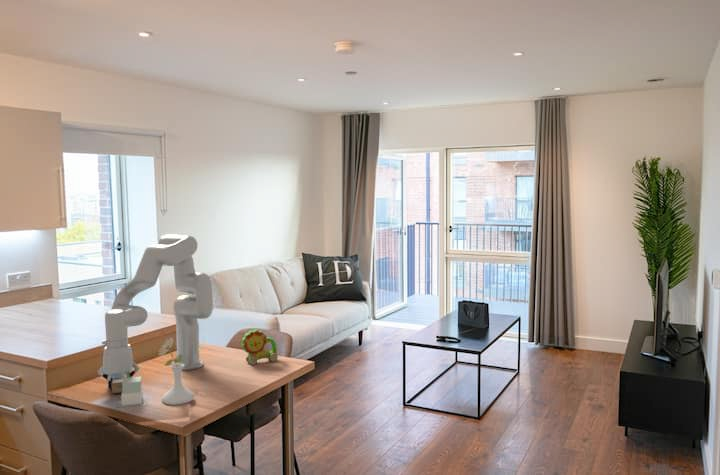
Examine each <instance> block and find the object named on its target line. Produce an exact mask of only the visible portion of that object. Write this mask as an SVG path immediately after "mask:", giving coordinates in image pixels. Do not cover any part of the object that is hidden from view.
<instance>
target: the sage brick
mask: <svg viewBox="0 0 720 475" xmlns="http://www.w3.org/2000/svg"><path fill="white" fill-rule="evenodd" d="M141 387H143V386H142V376H132V377H129V378H124V379H123V383H122V390H123V394H129V393H139V392H141Z"/></svg>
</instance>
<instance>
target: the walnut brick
mask: <svg viewBox="0 0 720 475" xmlns="http://www.w3.org/2000/svg"><path fill="white" fill-rule="evenodd" d="M124 378H127V376H125V377H123V378H113V381H112V383H111V385H112V391H111V394H119V393H122V392H123V390H122V383H123V379H124Z"/></svg>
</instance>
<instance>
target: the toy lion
mask: <svg viewBox="0 0 720 475" xmlns="http://www.w3.org/2000/svg"><path fill="white" fill-rule="evenodd" d="M267 343H270V344H271V350H270V351H269V350H267V349H265V346H266V344H267ZM241 348H242V349H243V351H244V352H245V353H247V355H246V357H245V361H246V362H247V363H249V364H250V365H251V366H254V365H256V364H257V363H258V361H260V360H262V359H268V360H269V361H271V362H276V361H277V360H278V354H277V344H276V342H275V340H274V339H272V338H271V337H268V336H267V335H266V334H265V333H264V332H263V331H261V330H258V329H253V330H249V331H248V332H247V333H245V334H244V335H243V337H242V339H241Z"/></svg>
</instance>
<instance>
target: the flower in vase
mask: <svg viewBox="0 0 720 475" xmlns="http://www.w3.org/2000/svg"><path fill="white" fill-rule="evenodd" d="M174 342H175V341H174V338H172V336H170V337H169V338H166V340H165V341H164V344H161V346H160V347H161V348H160V349H159V350H157V353H158V355H157V356H160V357H162V356H164V355H165V354H166V353H167V352H169V353H170V355H171V357H172V358H171V359H169V360H168V361H166V362H165V364H164V367H167V366H170V368H171V369H172V372H173V376H174V384H173V386H172V387H171V388H170V389H169V390H167V392H165V393H164V395H163V396H162V398H161V401H162V402H163V403H164V405H165V404H166V405H169V406H176V405H177V406H178V405H184V404H188V403H189V402H191V401H193V399H194V398H195V394H194V392H192V391H191V390H190V389H188V388H187V387H186V386H184V385H183V383H182V372H183V370H182V369H183V367H184V366H185V365H184V364H176V363H178V362H180V361H181V360H182V356H181V354H180V355H178V356H177V355H176V357H174V355H173V353H172V351H171V348H172V346H173V344H174ZM173 362H174V363H175V364H174V363H173ZM172 363H173V364H172Z"/></svg>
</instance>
